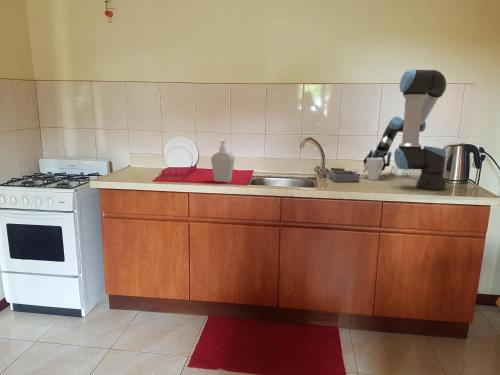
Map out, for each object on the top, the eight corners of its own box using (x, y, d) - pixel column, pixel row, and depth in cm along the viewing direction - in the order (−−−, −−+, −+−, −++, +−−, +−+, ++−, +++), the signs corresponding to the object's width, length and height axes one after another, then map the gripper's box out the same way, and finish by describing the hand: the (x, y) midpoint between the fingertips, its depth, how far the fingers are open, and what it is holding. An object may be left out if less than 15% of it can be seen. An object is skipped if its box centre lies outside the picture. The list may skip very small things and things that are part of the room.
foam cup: (378, 181, 235) (380, 160, 232) (363, 179, 240) (365, 158, 237) (382, 178, 243) (384, 158, 240) (368, 176, 248) (369, 157, 245)
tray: (358, 182, 230) (359, 175, 229) (335, 182, 230) (335, 175, 229) (351, 177, 245) (352, 170, 244) (329, 177, 244) (329, 170, 243)
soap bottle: (235, 180, 235) (235, 138, 229) (231, 183, 225) (230, 140, 220) (216, 179, 237) (215, 138, 232) (211, 182, 228) (210, 139, 222)
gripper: (402, 150, 241) (390, 178, 233) (369, 148, 256) (357, 174, 248) (400, 143, 236) (387, 171, 228) (366, 140, 251) (353, 167, 243)
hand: (371, 172), depth 238 cm, fingers closed on foam cup, 9 cm apart
